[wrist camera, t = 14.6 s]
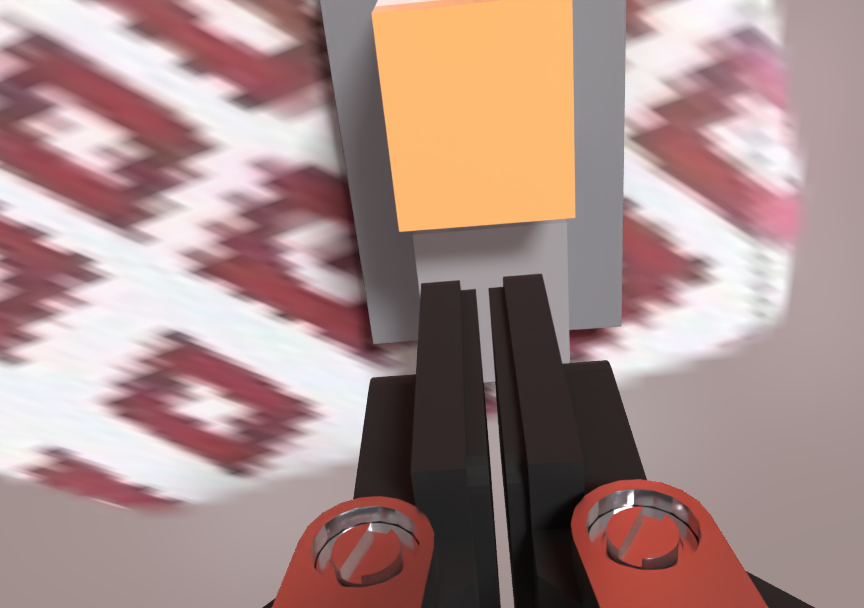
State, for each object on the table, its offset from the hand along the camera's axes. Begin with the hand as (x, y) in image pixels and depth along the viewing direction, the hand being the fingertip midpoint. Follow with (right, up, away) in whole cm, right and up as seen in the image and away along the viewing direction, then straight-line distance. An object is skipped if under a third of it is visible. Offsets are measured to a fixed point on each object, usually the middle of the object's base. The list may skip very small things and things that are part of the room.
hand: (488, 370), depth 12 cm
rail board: (+1, +6, +20) cm, 21 cm away
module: (+1, +9, +16) cm, 19 cm away
